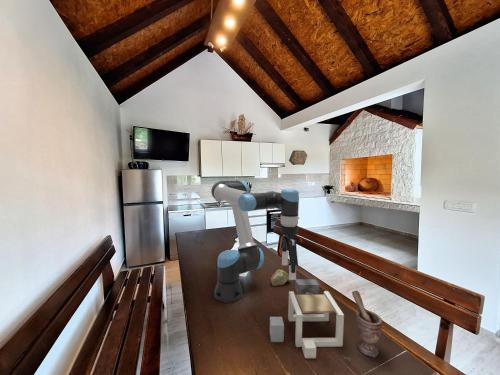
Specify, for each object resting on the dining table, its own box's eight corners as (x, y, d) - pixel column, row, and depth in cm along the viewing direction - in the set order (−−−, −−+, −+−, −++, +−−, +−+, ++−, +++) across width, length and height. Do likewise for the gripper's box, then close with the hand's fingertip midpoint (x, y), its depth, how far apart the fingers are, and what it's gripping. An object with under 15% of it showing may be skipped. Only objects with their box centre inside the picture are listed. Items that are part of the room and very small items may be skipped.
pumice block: (305, 358, 78) (305, 348, 78) (302, 349, 82) (302, 339, 82) (315, 358, 78) (316, 348, 78) (312, 349, 82) (312, 339, 82)
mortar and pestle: (343, 343, 85) (345, 295, 83) (352, 332, 91) (354, 287, 89) (375, 362, 77) (378, 309, 75) (383, 349, 83) (386, 299, 81)
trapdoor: (301, 312, 85) (302, 303, 85) (291, 287, 103) (292, 279, 103) (334, 312, 85) (334, 303, 85) (318, 287, 103) (319, 279, 103)
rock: (276, 293, 128) (271, 282, 123) (269, 283, 135) (264, 272, 131) (292, 282, 130) (288, 271, 126) (284, 273, 138) (280, 262, 134)
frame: (296, 346, 83) (297, 315, 82) (288, 318, 99) (288, 291, 98) (342, 346, 84) (344, 314, 83) (327, 318, 100) (328, 291, 98)
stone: (271, 342, 86) (271, 325, 85) (269, 332, 91) (269, 316, 90) (283, 341, 86) (284, 325, 85) (281, 332, 91) (281, 316, 90)
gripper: (307, 233, 82) (305, 286, 84) (290, 218, 107) (289, 259, 108) (287, 233, 81) (286, 287, 83) (275, 218, 106) (274, 260, 108)
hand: (288, 271), depth 96 cm, fingers open, 13 cm apart
